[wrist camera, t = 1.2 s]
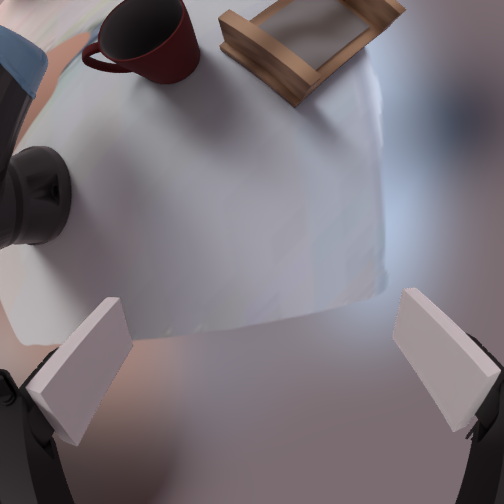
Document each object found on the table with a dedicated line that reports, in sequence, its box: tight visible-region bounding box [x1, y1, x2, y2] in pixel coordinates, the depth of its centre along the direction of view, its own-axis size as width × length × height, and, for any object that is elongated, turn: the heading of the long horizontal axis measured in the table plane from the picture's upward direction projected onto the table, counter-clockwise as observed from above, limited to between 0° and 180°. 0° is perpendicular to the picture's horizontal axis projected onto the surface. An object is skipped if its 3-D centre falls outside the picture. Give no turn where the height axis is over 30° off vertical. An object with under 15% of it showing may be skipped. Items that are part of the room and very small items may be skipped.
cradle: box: [218, 0, 406, 108], centre depth 22 cm, size 12×20×7 cm, turn 137°
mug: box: [82, 0, 200, 84], centre depth 22 cm, size 12×9×11 cm
